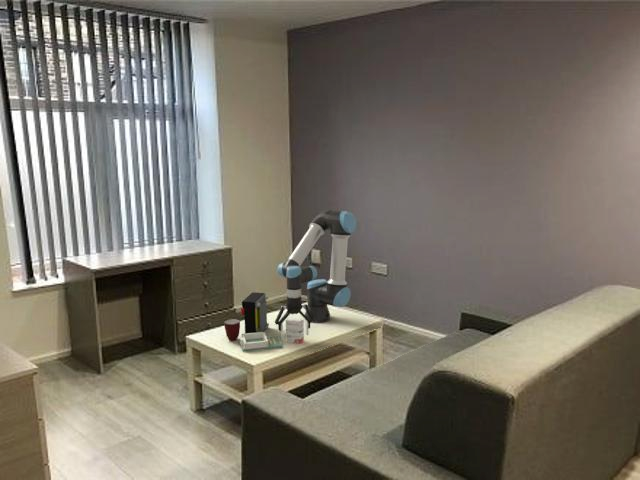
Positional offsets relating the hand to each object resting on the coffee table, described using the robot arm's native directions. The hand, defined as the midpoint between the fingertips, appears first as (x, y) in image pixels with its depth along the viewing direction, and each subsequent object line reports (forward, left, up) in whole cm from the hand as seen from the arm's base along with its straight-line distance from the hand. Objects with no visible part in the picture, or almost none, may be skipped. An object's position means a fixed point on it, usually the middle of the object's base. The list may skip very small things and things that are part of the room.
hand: (294, 335), depth 277 cm
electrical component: (+18, -19, -4) cm, 26 cm away
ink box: (0, 0, -4) cm, 4 cm away
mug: (+32, -12, -4) cm, 34 cm away
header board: (+18, 0, -3) cm, 18 cm away
